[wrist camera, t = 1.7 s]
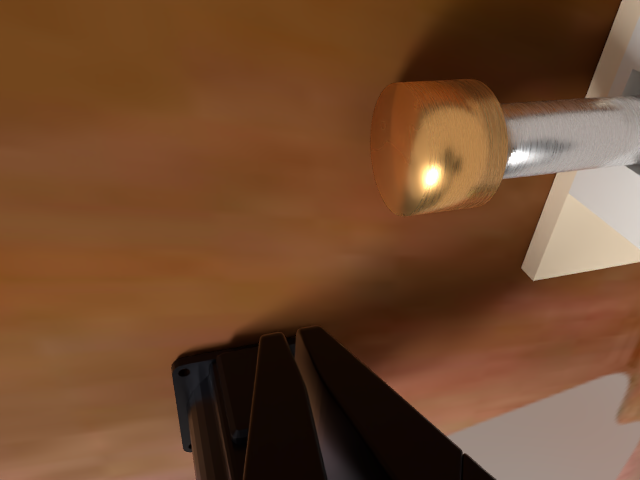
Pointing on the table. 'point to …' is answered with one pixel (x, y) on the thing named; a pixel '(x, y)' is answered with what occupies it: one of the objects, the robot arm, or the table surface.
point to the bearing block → (595, 181)
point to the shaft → (488, 141)
